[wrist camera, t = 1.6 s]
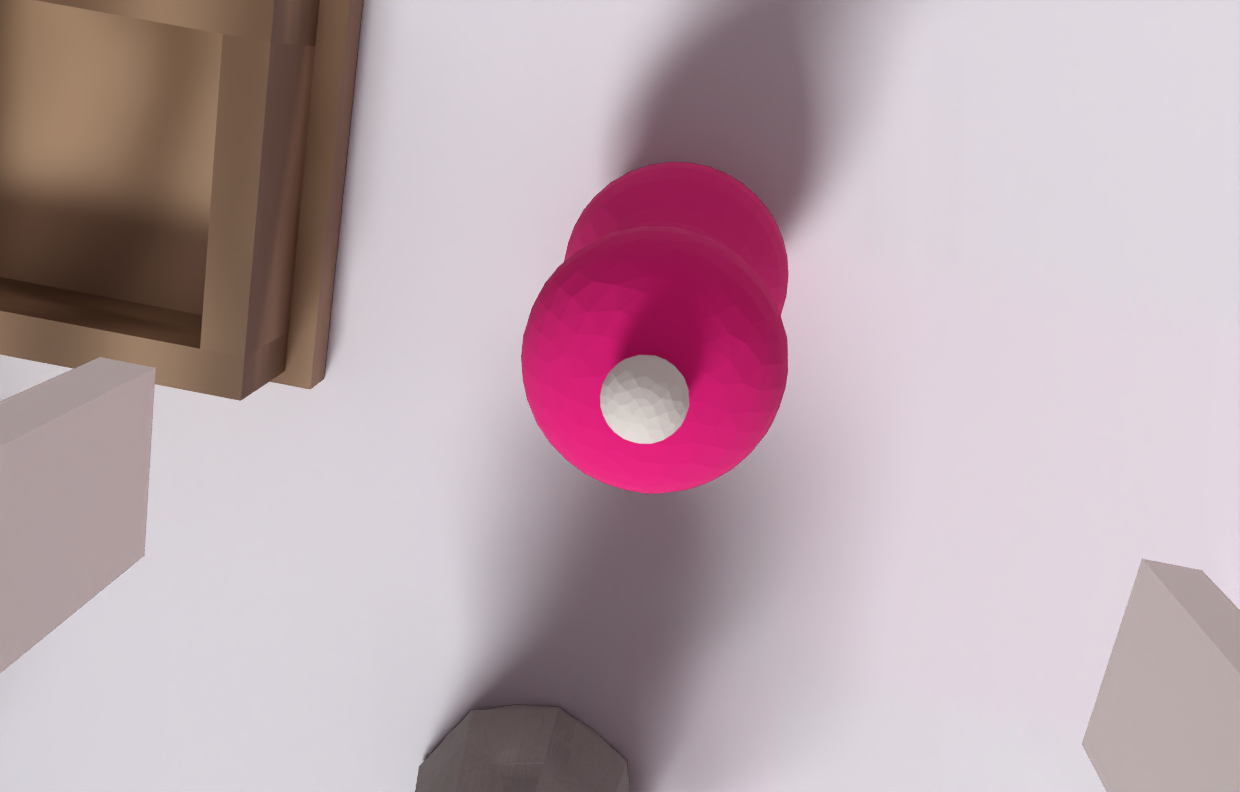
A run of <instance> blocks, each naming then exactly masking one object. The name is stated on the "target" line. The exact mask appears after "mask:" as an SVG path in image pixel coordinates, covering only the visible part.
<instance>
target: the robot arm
mask: <svg viewBox="0 0 1240 792" xmlns="http://www.w3.org/2000/svg"><path fill="white" fill-rule="evenodd" d="M154 385H155V368H154V367H149V366H144V365H139V364H133V363H128V362H123V361H118V360H113V359H108V358H103V357H99V358H97V359H95V360H92V361H90V362H88V363H86V364H83V365H81V366H79V367H77V368H74V369H72V370H70V371H68V372H65V373H63V374H61V375H59V376H57V377H54V378H52V379H50V380H48V381H45V382H43V383H41V384H39V385H36V386H34V387H32V388H30V389H27V390H25V391H23V392H21V393H18V394H16V395H14V396H12V397H9V398H7V399H5V400H3V401H0V673H1V672H2V671H4V670H5V669H6V668H7V667H8V666H10V665H11V664H12V663H13V662H15V661H16V660H17V659H18V658H19V657H21V656H22V655H23V654H24V653H26V652H27V651H28V650H29V649H30V648H32V647H33V646H34V645H35V644H37V643H38V642H39V641H40V640H42V639H43V638H44V637H45V636H46V635H48V634H49V633H50V632H51V631H53V630H54V629H55V628H56V627H57V626H59V625H60V624H61V623H62V622H64V621H65V620H66V619H67V618H68V617H70V616H71V615H72V614H73V613H75V612H76V611H77V610H78V609H79V608H81V607H82V606H83V605H84V604H86V603H87V602H88V601H89V600H91V599H92V598H93V597H94V596H95V595H97V594H98V593H99V592H100V591H102V590H103V589H104V588H105V587H106V586H108V585H109V584H110V583H111V582H113V581H114V580H115V579H116V578H117V577H119V576H120V575H121V574H122V573H124V572H125V571H126V570H127V569H129V568H130V567H131V566H132V565H133V564H135V563H136V562H137V561H138V560H140V559H141V558H142V557H143V556H144V552H145V535H146V519H147V502H148V485H149V468H150V452H151V435H152V418H153V402H154ZM1082 745H1083V747H1084V749H1085V751H1086V753H1087V755H1088V757H1089V759H1090V761H1091V762H1092V764H1093V766H1094V768H1095V770H1096V772H1097V774H1098V776H1099V778H1100V780H1101V782H1102V783H1103V785H1104V787H1105V789H1106V791H1107V792H1240V610H1239V609H1238V608H1237V607H1236V606H1235V605H1234V604H1233V603H1232V602H1231V600H1230V599H1229V598H1228V597H1227V596H1226V595H1225V594H1224V593H1223V592H1222V591H1221V590H1220V589H1219V588H1218V587H1217V586H1216V585H1215V584H1214V583H1213V582H1212V580H1211V579H1210V578H1209V577H1208V576H1207V575H1206V574H1205V573H1204V572H1203V571H1202V570H1197V569H1192V568H1187V567H1182V566H1176V565H1171V564H1166V563H1161V562H1156V561H1151V560H1145V559H1142V561H1141V564H1140V567H1139V570H1138V573H1137V576H1136V579H1135V582H1134V585H1133V588H1132V591H1131V595H1130V598H1129V601H1128V604H1127V607H1126V610H1125V613H1124V616H1123V619H1122V622H1121V625H1120V628H1119V632H1118V635H1117V638H1116V641H1115V644H1114V647H1113V650H1112V653H1111V656H1110V659H1109V662H1108V665H1107V668H1106V672H1105V675H1104V678H1103V681H1102V684H1101V687H1100V690H1099V693H1098V696H1097V699H1096V702H1095V705H1094V709H1093V712H1092V715H1091V718H1090V721H1089V724H1088V727H1087V730H1086V733H1085V736H1084V739H1083V742H1082Z"/></svg>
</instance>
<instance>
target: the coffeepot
mask: <svg viewBox="0 0 1240 792" xmlns="http://www.w3.org/2000/svg"><path fill="white" fill-rule="evenodd" d="M415 792H630V787H629V776H628V766H627V760H625V759H624V758H623V757H622V756H621V755H620V754H619V753H618V752H617V751H616V750H615V749H613V748H612V747H611V746H610V745H609V744H608V743H607V742H606V741H605V740H604V739H603V738H602V737H601V736H600V735H599V734H598V733H597V732H595V731H594V730H593V729H592V728H590V727H589V726H587V725H586V724H584V723H582V722H581V721H579V720H578V719H576V718H574V717H571V716H570V715H568V714H567V713H566V712H565V711H563V710H562V709H561V708H560V707H549V706H532V705H510V706H502V707H495V708H492V709H485V710H471V711H470V713H469V714H468V715H467V716H466V717H465V718H464V719H463V720H462V721H461V722H460V723H459V724H458V725H457V726H456V727H455V728H454V729H453V730H452V731H451V732H449V733H448V734H447V735H446V737H445V738H444V739H443V741H442V742H441V744H440V745H439V746H438V747H437V748H436V749H435V750H434V751H433V752H432V753H431V754H430V755H429V757H428V758H427V759H426V760H425V761H424V762H423V763H422V764H421V765H420V766H419V771H418V777H417V784H416V790H415Z"/></svg>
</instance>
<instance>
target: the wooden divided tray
mask: <svg viewBox="0 0 1240 792" xmlns="http://www.w3.org/2000/svg"><path fill="white" fill-rule="evenodd" d="M362 6H363V0H0V354H1V355H6V356H12V357H17V358H22V359H27V360H32V361H38V362H43V363H48V364H53V365H58V366H64V367H69V368H77V367H79V366H81V365H83V364H86V363H88V362H90V361H92V360H95V359H97V358H99V357H103V358H108V359H113V360H118V361H123V362H128V363H133V364H139V365H144V366H149V367H154V368H155V384H157V385H163V386H168V387H173V388H178V389H183V390H189V391H194V392H199V393H204V394H210V395H215V396H220V397H225V398H230V399H236V400H242V399H244V398H245V397H247V396H248V395H250V394H251V393H253V392H254V391H256V390H257V389H259V388H260V387H262V386H263V385H265V384H266V383H268V382H275V383H280V384H285V385H290V386H296V387H301V388H306V389H311V388H313V387H314V386H315V385H317V384H318V383H319V382H321V381H322V380H323V379H324V373H325V363H326V354H327V344H328V334H329V325H330V315H331V305H332V296H333V286H334V276H335V267H336V257H337V248H338V238H339V228H340V219H341V209H342V199H343V190H344V180H345V170H346V161H347V151H348V141H349V132H350V122H351V113H352V103H353V93H354V84H355V74H356V64H357V55H358V45H359V35H360V26H361V16H362Z"/></svg>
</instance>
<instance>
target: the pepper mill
mask: <svg viewBox="0 0 1240 792" xmlns="http://www.w3.org/2000/svg"><path fill="white" fill-rule="evenodd" d="M787 283H788V261H787V254H786V250H785V245H784V241H783V238H782V236H781V233H780V231H779V228H778V226H777V224H776V222H775V220H774V219H773V217H772V215H771V214H770V212H769V210H768V209H767V207H766V206H765V205H764V204H763V203H762V202H761V200H760V199H759V198H758V197H757V196H756V195H755V194H754V193H753V192H752V191H751V190H750V189H748V188H747V187H746V186H745V185H744V184H743V183H741V182H739V181H738V180H736V179H734V178H733V177H731V176H730V175H728V174H726V173H723V172H721V171H718V170H716V169H714V168H711V167H708V166H703V165H699V164H694V163H684V162H668V163H660V164H652V165H648V166H645V167H642V168H639V169H636V170H634V171H631V172H629V173H627V174H625V175H623V176H622V177H620V178H618V179H616V180H614V181H613V182H611V183H610V184H609V185H607V186H606V187H605V188H604V189H603V190H602V191H601V192H599V193H598V194H597V195H596V196H595V197H594V198H593V199H592V201H591V202H590V203H589V204H588V205H587V207H586V208H585V209H584V210H583V212H582V214H581V216H580V217H579V219H578V221H577V223H576V224H575V226H574V229H573V231H572V234H571V237H570V240H569V242H568V246H567V251H566V255H565V260H564V263H562V264H561V265H560V266H559V267H558V268H557V269H556V271H555V272H554V273H553V274H552V275H551V277H550V278H549V279H548V280H547V282H546V283H545V284H544V286H543V288H542V290H541V292H540V294H539V295H538V297H537V299H536V301H535V303H534V305H533V307H532V309H531V313H530V316H529V319H528V322H527V326H526V329H525V332H524V335H523V345H522V355H521V361H522V375H523V382H524V387H525V391H526V396H527V400H528V403H529V405H530V408H531V410H532V412H533V415H534V417H535V420H536V422H537V424H538V426H539V427H540V429H541V430H542V432H543V433H544V435H545V436H546V438H547V439H548V441H549V442H550V443H551V444H552V445H553V446H554V447H555V448H556V449H557V450H558V451H559V453H560V454H561V455H562V456H563V457H564V458H565V459H566V460H568V461H569V462H570V463H572V464H573V465H574V466H575V467H577V468H578V469H579V470H581V471H582V472H583V473H585V474H587V475H589V476H591V477H593V478H595V479H597V480H599V481H601V482H603V483H605V484H608V485H612V486H615V487H618V488H621V489H625V490H629V491H635V492H641V493H647V494H650V493H667V492H674V491H682V490H687V489H690V488H693V487H696V486H700V485H702V484H705V483H708V482H710V481H712V480H714V479H716V478H718V477H719V476H721V475H723V474H725V473H726V472H728V471H730V470H732V469H733V468H734V467H735V466H736V465H738V464H739V463H740V462H741V461H742V460H743V459H745V458H746V457H747V456H748V455H749V454H750V453H751V452H752V451H753V449H754V448H755V447H756V446H757V444H758V443H759V442H760V441H761V439H762V438H763V437H764V436H765V435H766V433H767V432H768V430H769V428H770V426H771V425H772V423H773V420H774V418H775V416H776V414H777V411H778V409H779V407H780V403H781V400H782V397H783V394H784V391H785V387H786V380H787V374H788V349H787V336H786V333H785V329H784V326H783V323H782V319H781V313H782V309H783V306H784V302H785V299H786V293H787Z"/></svg>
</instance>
